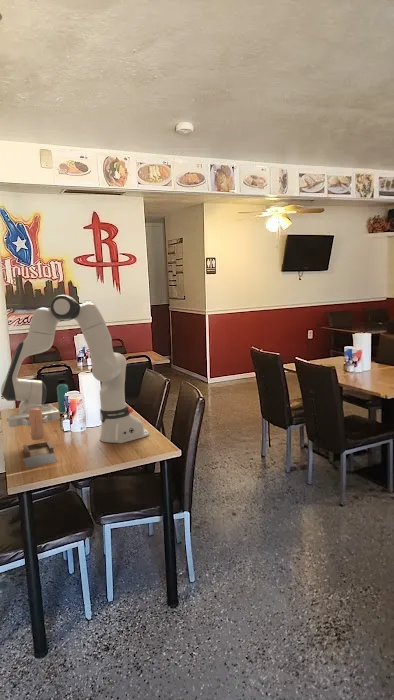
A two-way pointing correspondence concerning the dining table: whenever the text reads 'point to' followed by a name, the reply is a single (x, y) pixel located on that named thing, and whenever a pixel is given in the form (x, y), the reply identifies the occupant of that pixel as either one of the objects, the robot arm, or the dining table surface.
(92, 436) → the dining table surface
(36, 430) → the tall peach cylinder
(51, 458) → the mat
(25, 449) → the cradle
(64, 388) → the beverage bottle
